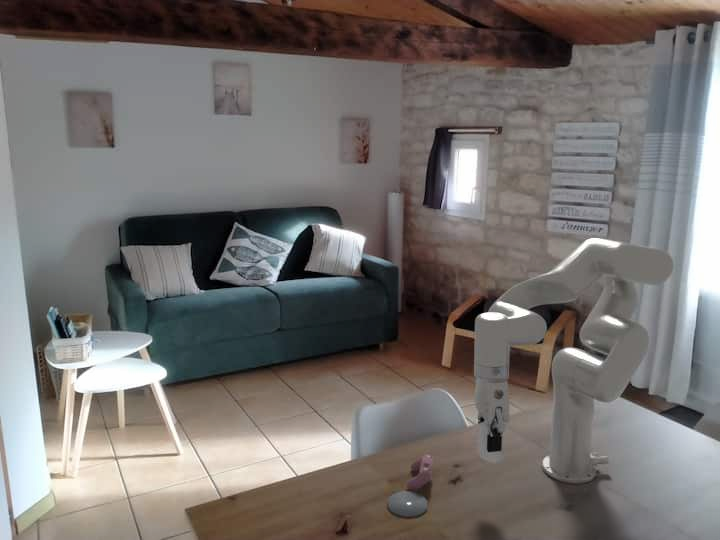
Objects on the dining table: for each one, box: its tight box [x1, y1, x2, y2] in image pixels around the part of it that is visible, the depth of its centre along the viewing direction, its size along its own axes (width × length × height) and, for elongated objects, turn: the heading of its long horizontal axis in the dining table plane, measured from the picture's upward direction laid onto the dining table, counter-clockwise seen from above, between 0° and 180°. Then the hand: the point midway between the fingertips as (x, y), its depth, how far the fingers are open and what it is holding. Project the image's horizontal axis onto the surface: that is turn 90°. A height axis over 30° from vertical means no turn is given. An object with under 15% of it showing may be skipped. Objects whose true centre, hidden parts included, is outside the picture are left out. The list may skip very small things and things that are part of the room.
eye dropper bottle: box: [476, 419, 503, 464], centre depth 136 cm, size 4×6×12 cm
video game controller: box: [406, 453, 435, 491], centre depth 146 cm, size 10×5×7 cm, turn 169°
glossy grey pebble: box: [387, 490, 429, 518], centre depth 137 cm, size 9×9×1 cm
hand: (489, 443), depth 137 cm, fingers closed on eye dropper bottle, 5 cm apart
